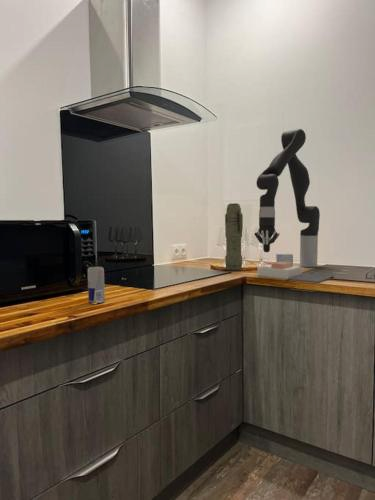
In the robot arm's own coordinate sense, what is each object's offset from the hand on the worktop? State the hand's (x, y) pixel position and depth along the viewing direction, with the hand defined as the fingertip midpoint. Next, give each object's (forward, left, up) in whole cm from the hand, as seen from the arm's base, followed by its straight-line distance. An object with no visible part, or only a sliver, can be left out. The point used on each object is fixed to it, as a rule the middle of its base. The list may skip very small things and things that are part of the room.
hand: (266, 252), depth 185 cm
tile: (0, +8, -7) cm, 11 cm away
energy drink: (+89, -15, -11) cm, 91 cm away
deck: (0, +7, -11) cm, 13 cm away
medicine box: (-15, +2, -11) cm, 19 cm away
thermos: (-4, -22, -11) cm, 25 cm away
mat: (0, +23, -11) cm, 25 cm away
